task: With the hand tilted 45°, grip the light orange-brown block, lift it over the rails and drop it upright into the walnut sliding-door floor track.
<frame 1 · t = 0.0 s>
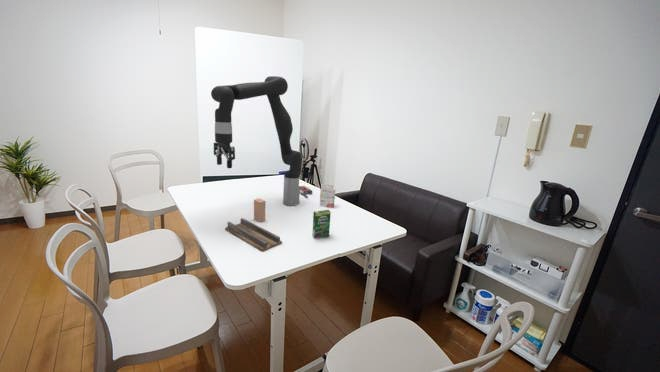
hand: (224, 166, 138), 29 cm above the table, tool pointing down, fingers open, 8 cm apart
light orange-brown block: (259, 220, 153), on the table
door track: (252, 236, 135), on the table
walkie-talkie: (305, 194, 202), on the table
ink cartridge box: (326, 206, 182), on the table
coffee box: (320, 236, 141), on the table
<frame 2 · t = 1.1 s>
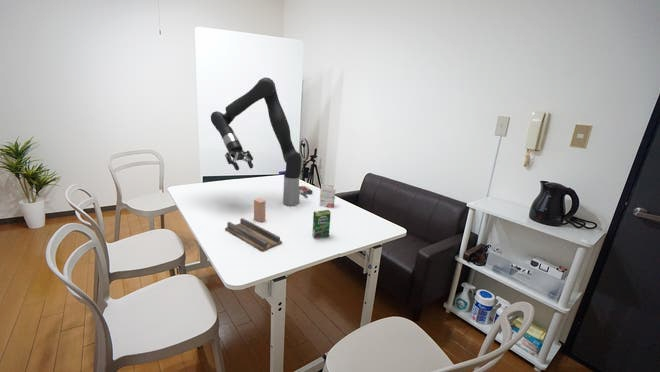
hand: (245, 168, 153), 25 cm above the table, tool tilted 45°, fingers open, 8 cm apart
nothing on the table moved.
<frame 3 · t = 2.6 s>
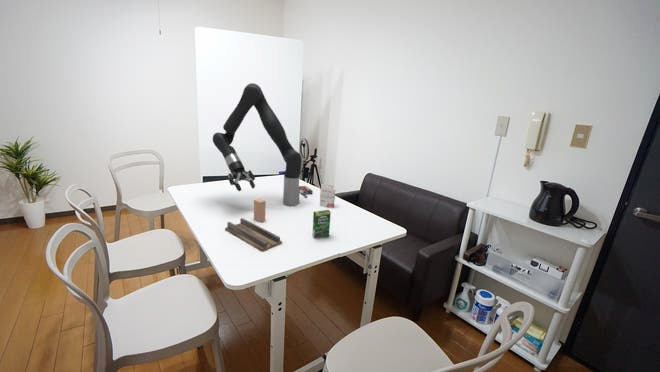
hand: (247, 189, 155), 14 cm above the table, tool tilted 45°, fingers open, 8 cm apart
nothing on the table moved.
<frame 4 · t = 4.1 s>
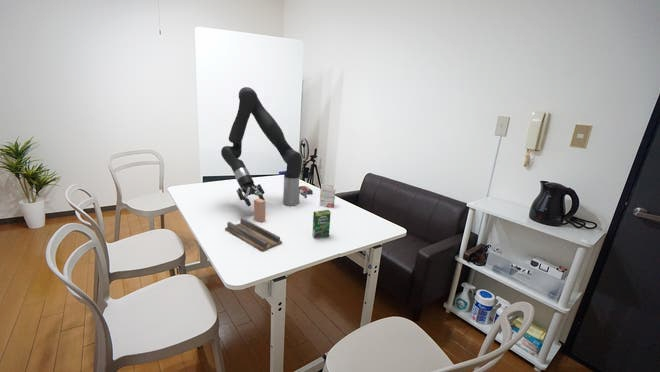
hand: (256, 203, 152), 8 cm above the table, tool tilted 45°, fingers open, 8 cm apart
nothing on the table moved.
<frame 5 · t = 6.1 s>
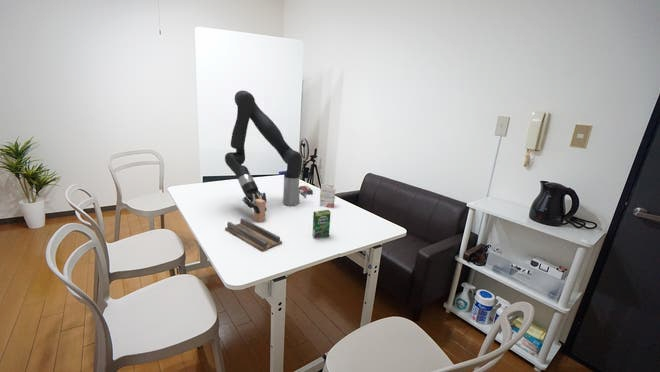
hand: (262, 212, 151), 5 cm above the table, tool tilted 45°, fingers closed on light orange-brown block, 3 cm apart
light orange-brown block: (259, 219, 153), on the table, touching gripper
everything else where it was.
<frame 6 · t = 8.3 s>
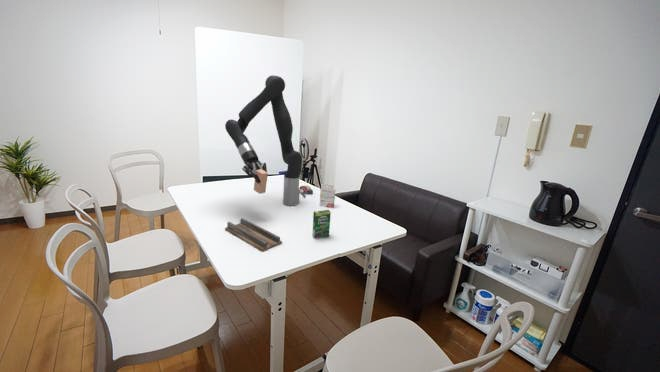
hand: (262, 181, 146), 21 cm above the table, tool tilted 45°, fingers closed on light orange-brown block, 3 cm apart
light orange-brown block: (259, 191, 149), point 16 cm above the table, tilted 9°, touching gripper
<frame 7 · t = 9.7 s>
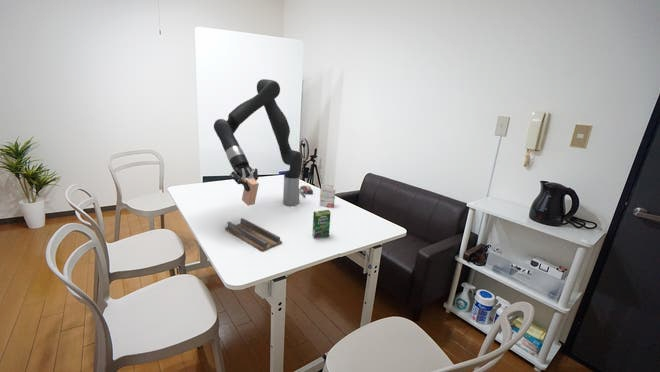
hand: (252, 189, 130), 22 cm above the table, tool tilted 45°, fingers closed on light orange-brown block, 3 cm apart
light orange-brown block: (248, 202, 134), point 16 cm above the table, tilted 15°, touching gripper
when the fingers open (11 cm above the table, at t = 12.8 s): light orange-brown block stays where it is, resting on door track.
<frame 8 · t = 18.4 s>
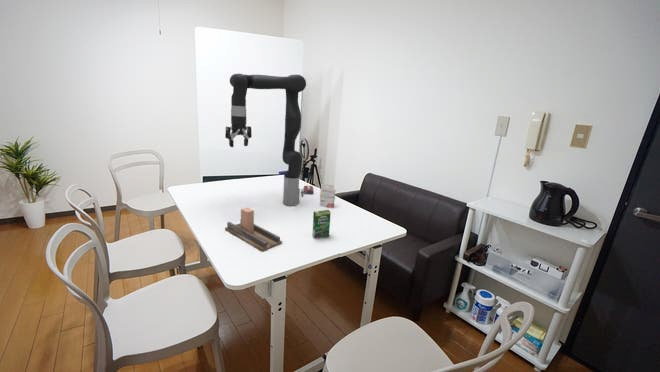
hand: (238, 146, 153), 36 cm above the table, tool pointing down, fingers open, 8 cm apart
light orange-brown block: (247, 231, 137), point 1 cm above the table, touching door track
at the end: light orange-brown block inside the target area on the door track (4.2 cm from its centre), point 1.0 cm above the door track's base; light orange-brown block tilted 0°; the gripper is holding nothing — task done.
